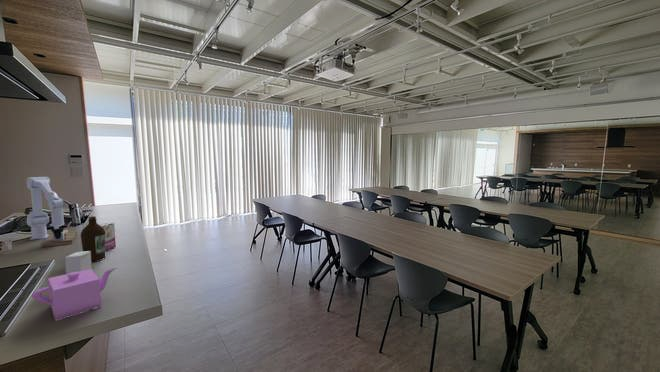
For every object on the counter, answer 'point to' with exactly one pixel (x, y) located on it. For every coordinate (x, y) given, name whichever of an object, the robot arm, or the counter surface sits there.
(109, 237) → the candy bar box
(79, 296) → the teapot
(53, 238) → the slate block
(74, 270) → the skincare box
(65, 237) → the puzzle board
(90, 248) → the olive oil
